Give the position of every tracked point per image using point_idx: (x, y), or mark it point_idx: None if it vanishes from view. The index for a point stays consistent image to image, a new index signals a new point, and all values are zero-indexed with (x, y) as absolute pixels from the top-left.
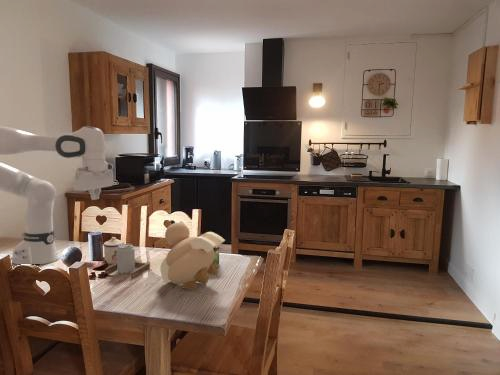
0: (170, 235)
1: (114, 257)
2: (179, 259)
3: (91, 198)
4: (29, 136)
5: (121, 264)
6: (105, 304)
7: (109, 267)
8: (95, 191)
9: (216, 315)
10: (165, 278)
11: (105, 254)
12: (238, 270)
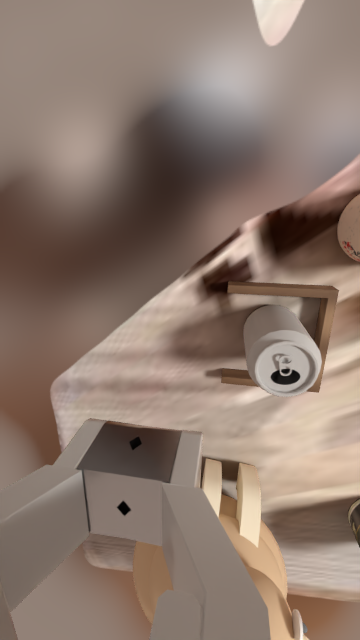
0: None
1: (350, 250)
2: (142, 585)
3: (84, 432)
4: None
5: (244, 341)
6: (71, 387)
7: (246, 291)
8: (188, 562)
9: (112, 557)
10: (204, 471)
11: (358, 207)
12: (343, 578)
